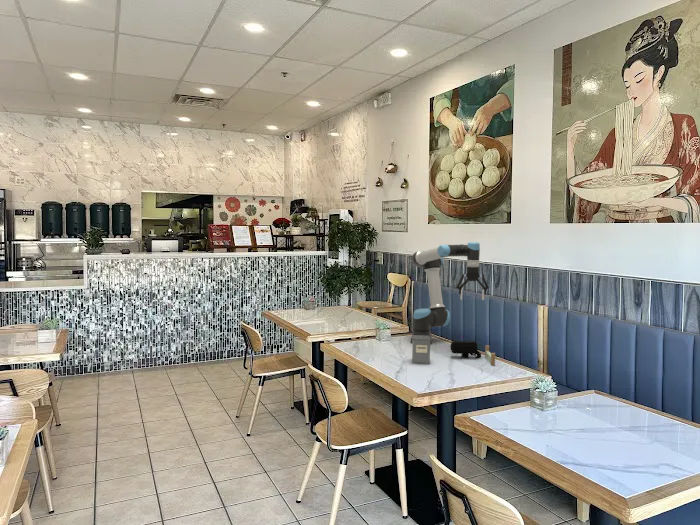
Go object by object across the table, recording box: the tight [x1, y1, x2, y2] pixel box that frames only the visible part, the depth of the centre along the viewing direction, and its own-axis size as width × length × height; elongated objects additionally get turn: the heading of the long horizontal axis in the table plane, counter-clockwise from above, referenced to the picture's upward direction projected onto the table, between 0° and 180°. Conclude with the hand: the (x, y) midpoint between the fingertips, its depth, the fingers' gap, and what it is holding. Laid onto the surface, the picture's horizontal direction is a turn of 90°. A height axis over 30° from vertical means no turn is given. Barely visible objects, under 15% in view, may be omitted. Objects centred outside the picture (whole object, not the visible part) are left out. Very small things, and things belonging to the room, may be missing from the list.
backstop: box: [484, 345, 496, 367], centre depth 317 cm, size 21×2×7 cm, turn 175°
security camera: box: [450, 340, 482, 359], centre depth 324 cm, size 7×18×10 cm, turn 89°
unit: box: [411, 334, 431, 365], centre depth 314 cm, size 11×11×15 cm
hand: (472, 299), depth 334 cm, fingers open, 13 cm apart
